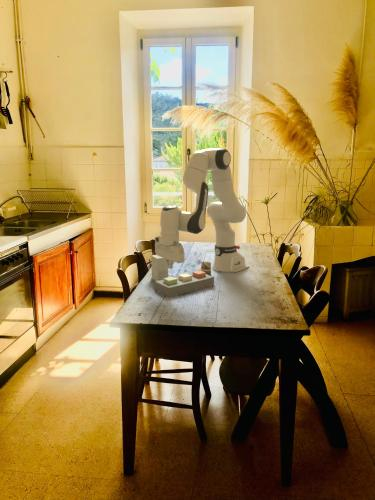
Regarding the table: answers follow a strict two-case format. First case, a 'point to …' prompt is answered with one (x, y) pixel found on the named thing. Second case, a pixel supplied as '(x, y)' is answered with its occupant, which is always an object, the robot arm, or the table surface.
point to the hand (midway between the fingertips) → (169, 268)
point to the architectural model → (206, 267)
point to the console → (184, 285)
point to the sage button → (170, 280)
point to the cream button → (184, 277)
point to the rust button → (199, 274)
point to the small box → (158, 268)
